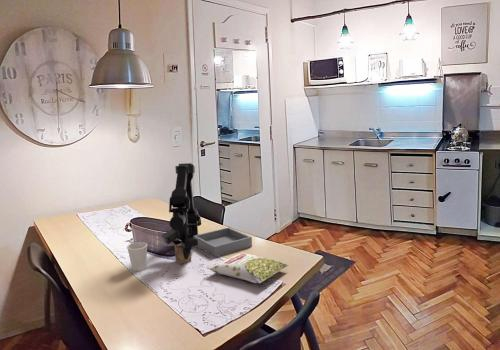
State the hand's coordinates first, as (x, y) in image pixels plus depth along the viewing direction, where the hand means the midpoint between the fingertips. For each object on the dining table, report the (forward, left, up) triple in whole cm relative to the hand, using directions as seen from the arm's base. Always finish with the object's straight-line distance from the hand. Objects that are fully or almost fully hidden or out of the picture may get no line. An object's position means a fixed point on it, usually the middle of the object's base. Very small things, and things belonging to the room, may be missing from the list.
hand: (183, 257), depth 181 cm
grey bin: (-5, +23, -2) cm, 24 cm away
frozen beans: (+29, +14, -2) cm, 32 cm away
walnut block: (0, 0, -2) cm, 2 cm away
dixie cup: (-5, -18, -2) cm, 19 cm away
